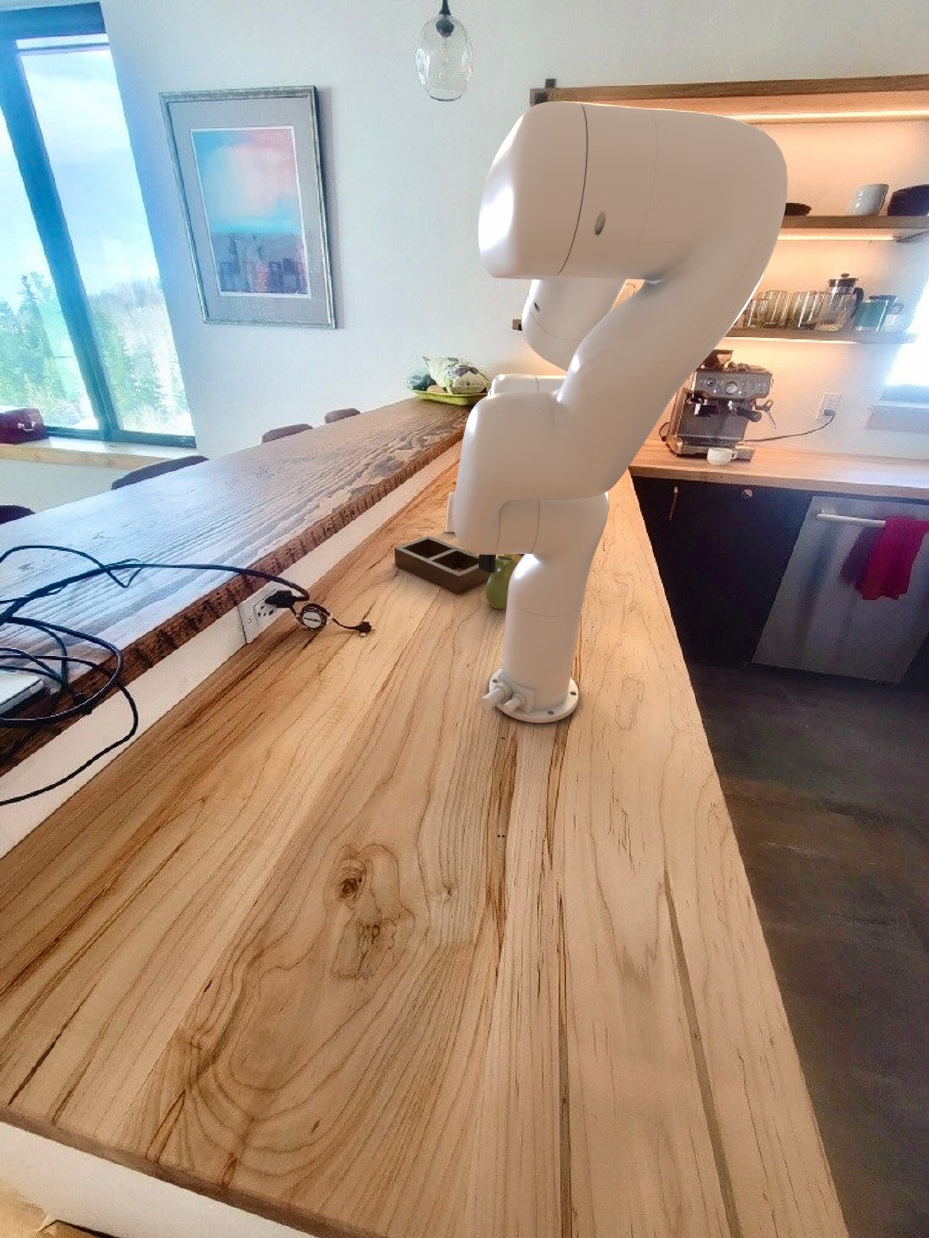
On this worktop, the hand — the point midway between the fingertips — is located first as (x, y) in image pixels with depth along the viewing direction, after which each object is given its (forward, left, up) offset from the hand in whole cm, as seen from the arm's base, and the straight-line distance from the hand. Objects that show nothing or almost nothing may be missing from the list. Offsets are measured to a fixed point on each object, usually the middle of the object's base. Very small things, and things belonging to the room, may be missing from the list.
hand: (504, 562), depth 87 cm
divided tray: (+4, +19, -10) cm, 21 cm away
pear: (+1, +1, -10) cm, 10 cm away
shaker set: (+25, +30, -10) cm, 40 cm away
